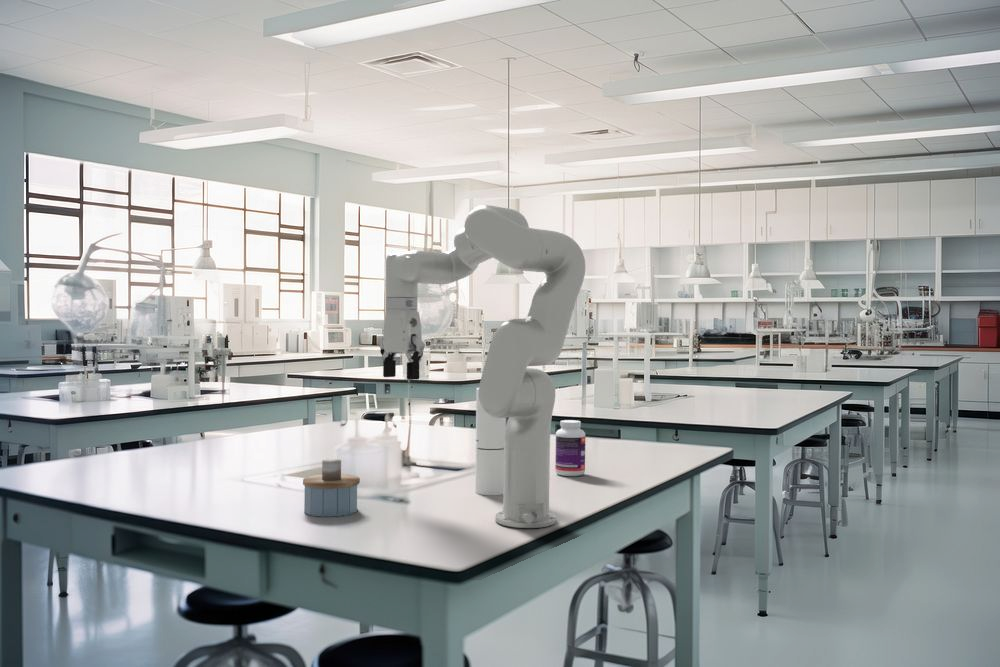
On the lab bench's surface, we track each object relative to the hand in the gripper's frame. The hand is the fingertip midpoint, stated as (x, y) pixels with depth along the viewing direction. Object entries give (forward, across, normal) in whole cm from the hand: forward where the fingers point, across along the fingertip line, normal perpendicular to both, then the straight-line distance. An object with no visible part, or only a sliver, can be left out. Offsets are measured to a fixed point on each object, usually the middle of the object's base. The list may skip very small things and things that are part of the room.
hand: (400, 378), depth 194 cm
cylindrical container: (+28, -12, -18) cm, 35 cm away
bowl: (+28, -5, +21) cm, 35 cm away
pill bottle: (+28, -8, -50) cm, 58 cm away
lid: (+22, -5, +21) cm, 31 cm away
